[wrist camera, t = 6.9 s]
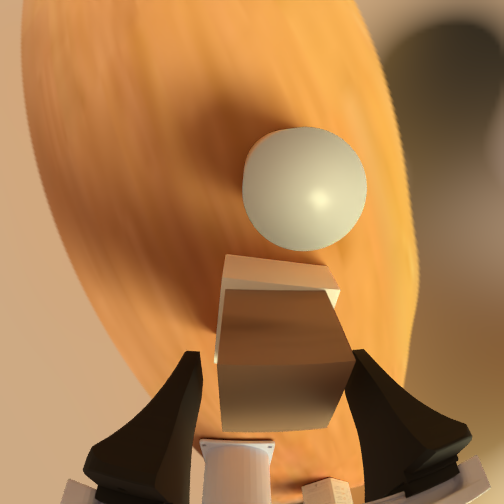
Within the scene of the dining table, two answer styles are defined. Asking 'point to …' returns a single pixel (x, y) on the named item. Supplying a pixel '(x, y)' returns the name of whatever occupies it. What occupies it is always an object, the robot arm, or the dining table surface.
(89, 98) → the dining table surface
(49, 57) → the dining table surface
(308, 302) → the walnut cube
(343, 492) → the small box
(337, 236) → the cream smooth round part
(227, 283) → the cream block
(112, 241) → the dining table surface
